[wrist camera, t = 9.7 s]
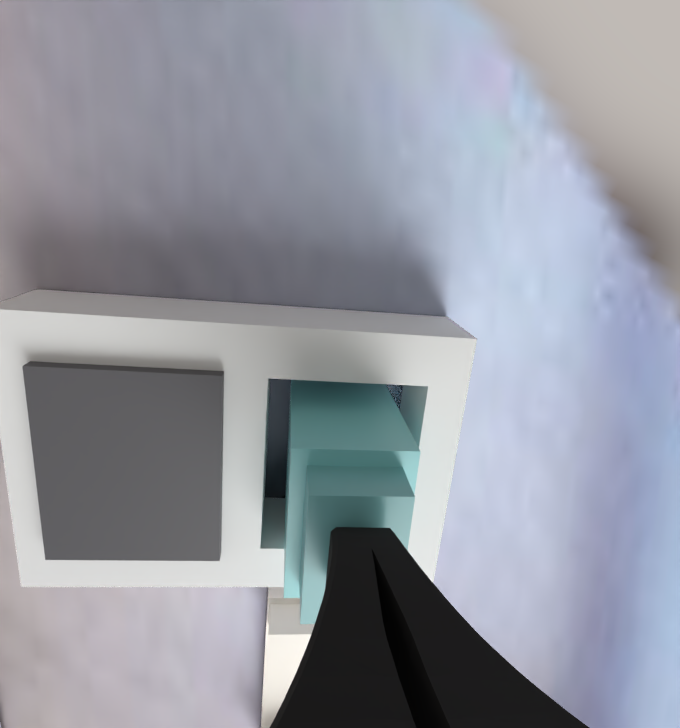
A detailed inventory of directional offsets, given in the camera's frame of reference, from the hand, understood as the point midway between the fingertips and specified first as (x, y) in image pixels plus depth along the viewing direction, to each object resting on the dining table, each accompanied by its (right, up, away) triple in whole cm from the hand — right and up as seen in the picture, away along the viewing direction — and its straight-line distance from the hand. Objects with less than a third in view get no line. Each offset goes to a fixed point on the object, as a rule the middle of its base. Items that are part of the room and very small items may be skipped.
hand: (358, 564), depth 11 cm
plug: (-1, +2, +7) cm, 7 cm away
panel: (-4, +2, +6) cm, 7 cm away
